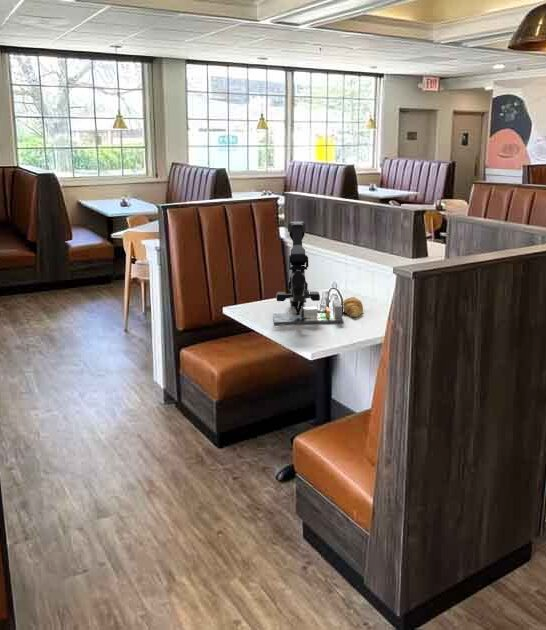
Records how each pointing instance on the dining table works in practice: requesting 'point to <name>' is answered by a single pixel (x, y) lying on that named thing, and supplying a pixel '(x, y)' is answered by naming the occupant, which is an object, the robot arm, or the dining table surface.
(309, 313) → the threaded rod block
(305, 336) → the dining table surface
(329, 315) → the bar
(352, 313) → the croissant
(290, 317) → the gauge board
